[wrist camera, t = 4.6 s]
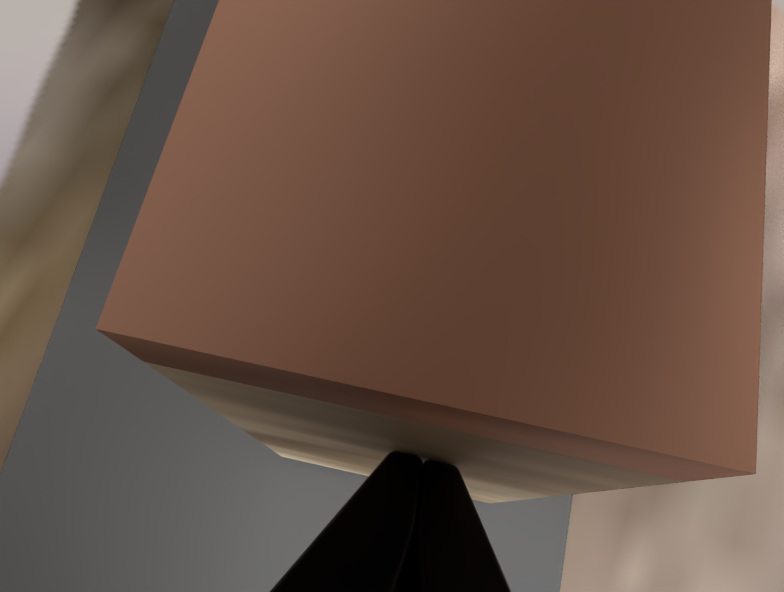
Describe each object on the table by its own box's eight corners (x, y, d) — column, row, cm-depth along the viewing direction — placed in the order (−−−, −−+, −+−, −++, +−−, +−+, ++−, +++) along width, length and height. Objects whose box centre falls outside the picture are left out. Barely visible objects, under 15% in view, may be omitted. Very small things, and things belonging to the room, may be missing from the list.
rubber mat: (-83, 737, 13) (-101, 747, 13) (207, -63, 18) (202, -77, 18) (512, 883, 13) (517, 899, 12) (630, 21, 18) (638, 8, 18)
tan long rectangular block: (281, 456, 14) (96, 328, 4) (332, 263, 15) (272, -143, 6) (489, 503, 14) (755, 474, 4) (521, 304, 15) (773, -47, 6)
